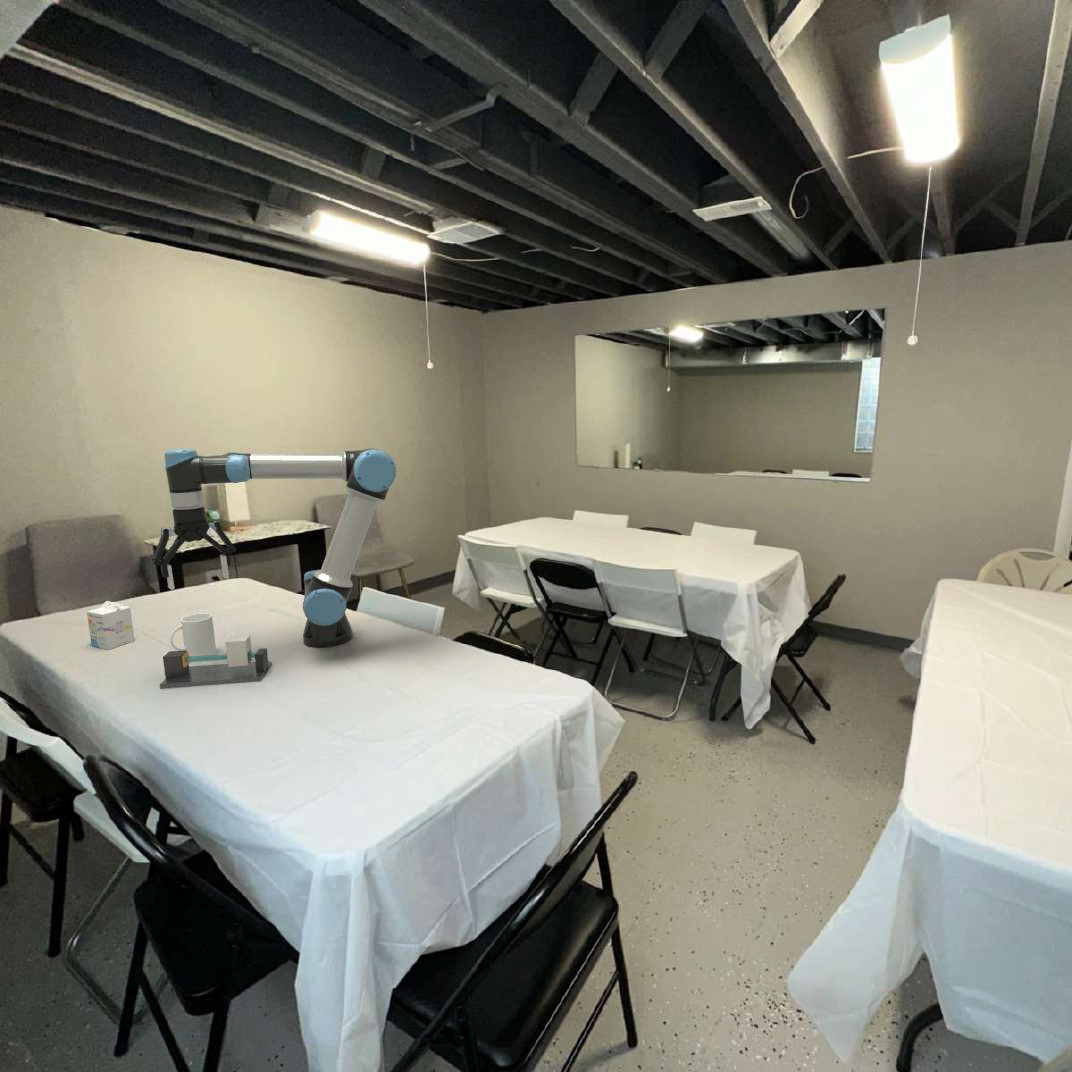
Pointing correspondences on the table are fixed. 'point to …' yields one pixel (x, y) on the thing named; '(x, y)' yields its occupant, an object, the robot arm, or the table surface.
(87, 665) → the table surface
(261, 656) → the glowing rod on plate
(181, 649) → the mug
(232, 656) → the sleeve
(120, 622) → the ink box
